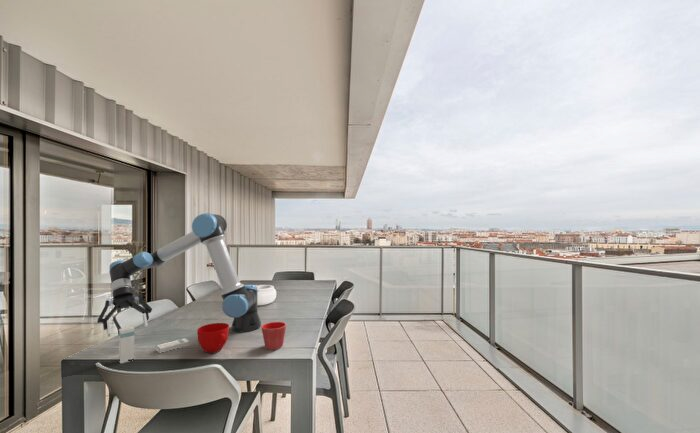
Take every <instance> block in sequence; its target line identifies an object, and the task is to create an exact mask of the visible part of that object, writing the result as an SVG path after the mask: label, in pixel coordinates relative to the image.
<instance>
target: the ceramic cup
mask: <svg viewBox="0 0 700 433" xmlns="http://www.w3.org/2000/svg"><path fill="white" fill-rule="evenodd" d="M229 331H230V325H229V324H228V323H225V322H216V323H210V324H204V325H201V326H200V327H198V328H197V330H196V335H197V341H198V344H199V346H200V348H201V349H202V350H203V351H204V352H205V353H206V352H208V353H207V354H213V353H212V352H214V353H218V352H221V351H222V348H223V347H224V346H225V345H226V344H227V341H228V338H229V333H230V332H229ZM217 351H218V352H217Z"/></svg>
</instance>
